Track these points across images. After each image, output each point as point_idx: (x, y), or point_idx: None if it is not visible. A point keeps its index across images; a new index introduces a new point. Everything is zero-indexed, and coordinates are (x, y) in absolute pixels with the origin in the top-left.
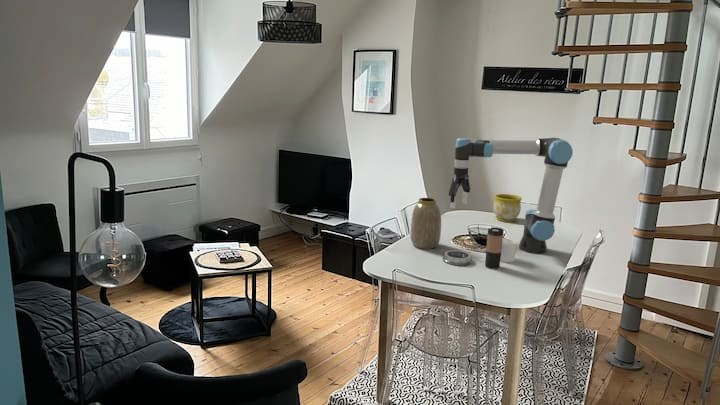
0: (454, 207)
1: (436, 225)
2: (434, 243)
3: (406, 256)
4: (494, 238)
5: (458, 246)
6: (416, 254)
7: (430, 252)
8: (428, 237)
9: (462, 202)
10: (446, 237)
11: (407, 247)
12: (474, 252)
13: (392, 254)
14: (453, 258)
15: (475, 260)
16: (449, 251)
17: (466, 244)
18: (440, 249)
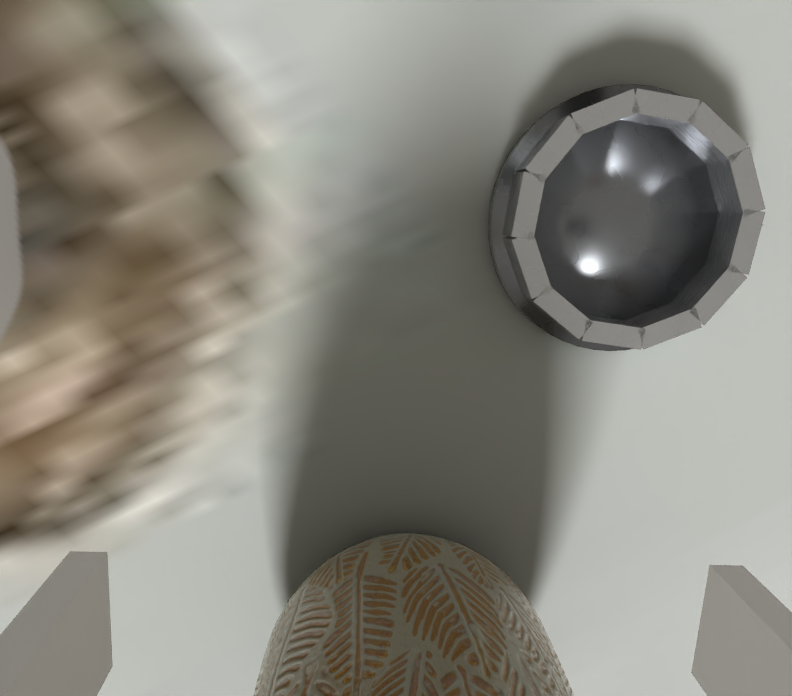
0: (755, 582)
1: (486, 658)
2: (458, 545)
3: None
4: None
5: (222, 396)
6: (665, 558)
7: (548, 501)
8: (532, 616)
9: (103, 675)
10: None
11: None
12: (283, 200)
13: None
14: (764, 208)
15: (498, 92)
16: (599, 328)
17: (108, 365)
18: (417, 476)
